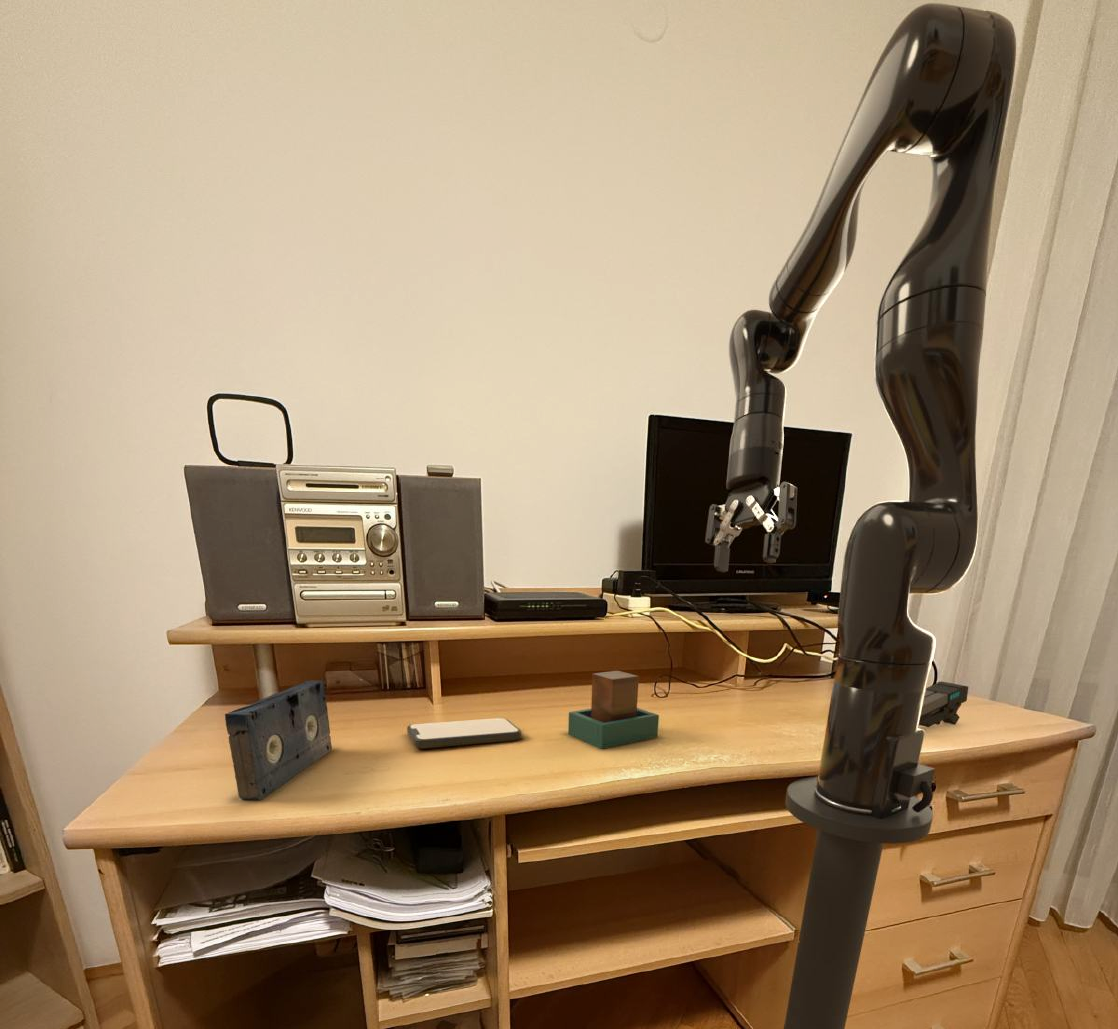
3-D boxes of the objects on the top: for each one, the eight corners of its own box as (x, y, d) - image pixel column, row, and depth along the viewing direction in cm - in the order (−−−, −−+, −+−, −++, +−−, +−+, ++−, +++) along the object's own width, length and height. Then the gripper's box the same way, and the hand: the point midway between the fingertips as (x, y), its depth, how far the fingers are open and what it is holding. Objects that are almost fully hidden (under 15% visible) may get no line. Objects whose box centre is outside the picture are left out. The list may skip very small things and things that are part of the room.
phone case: (505, 726, 96) (406, 734, 90) (505, 716, 96) (405, 723, 90) (523, 742, 89) (416, 751, 83) (524, 731, 88) (416, 740, 82)
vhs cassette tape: (316, 748, 83) (307, 679, 80) (336, 749, 83) (328, 680, 80) (233, 800, 66) (219, 714, 63) (258, 801, 66) (245, 715, 63)
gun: (968, 722, 101) (970, 669, 96) (893, 776, 94) (891, 722, 90) (942, 716, 104) (942, 665, 100) (867, 767, 98) (864, 715, 93)
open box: (657, 737, 91) (659, 714, 90) (601, 749, 85) (602, 725, 84) (622, 724, 98) (623, 703, 97) (568, 734, 92) (568, 712, 91)
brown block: (635, 733, 91) (639, 676, 88) (610, 738, 88) (613, 679, 85) (615, 725, 95) (617, 670, 92) (590, 730, 92) (592, 673, 89)
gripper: (700, 462, 91) (690, 568, 91) (782, 429, 79) (770, 551, 80) (732, 477, 95) (722, 579, 96) (814, 448, 83) (802, 564, 84)
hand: (744, 566), depth 88 cm, fingers open, 8 cm apart
